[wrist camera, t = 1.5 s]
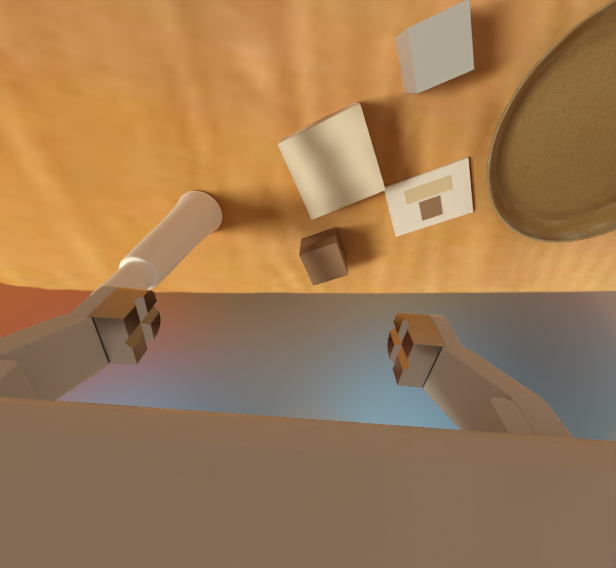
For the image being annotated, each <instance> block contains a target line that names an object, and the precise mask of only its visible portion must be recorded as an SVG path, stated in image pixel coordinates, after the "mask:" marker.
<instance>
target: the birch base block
mask: <svg viewBox="0 0 616 568" xmlns="http://www.w3.org/2000/svg"><path fill="white" fill-rule="evenodd" d="M278 146H279V149H280V151H281V153H282V155H283V157H284V160H285V162H286V164H287V166H288V168H289V171H290V173H291V175H292V177H293V179H294V182H295V184H296V186H297V188H298V191H299V193H300V195H301V197H302V199H303V202H304V204H305V206H306V208H307V210H308V213H309V215H310V217H311V219H312V220H313V219H315V218H318V217H320V216H323V215H325V214H328V213H330V212H333V211H335V210H338V209H340V208H342V207H345V206H347V205H350V204H352V203H355V202H357V201H360V200H362V199H365V198H367V197H370V196H372V195H375V194H377V193H379V192H382V191H384V190H385V186H384V183H383V180H382V176H381V173H380V169H379V166H378V163H377V159H376V156H375V152H374V149H373V146H372V142H371V139H370V135H369V132H368V129H367V125H366V122H365V118H364V115H363V112H362V108H361V105H360V103H357V102H354V103H352V104H350V105H348V106H346V107H344V108H342V109H340V110H338V111H336V112H334V113H332V114H330V115H328V116H326V117H324V118H322V119H320V120H318V121H316V122H314V123H312V124H310V125H308V126H306V127H304V128H302V129H300V130H298V131H296V132H294V133H292V134H290V135H288V136H286V137H284V138H283V139H282V140H281V141H280V142H279V143H278Z"/></svg>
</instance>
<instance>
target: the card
mask: <svg viewBox="0 0 616 568" xmlns="http://www.w3.org/2000/svg"><path fill="white" fill-rule="evenodd" d="M384 191H385V196H386V200H387V204H388V208H389V212H390V216H391V220H392V224H393V228H394V232H395V236H396V237H397V236H400V235H403V234H406V233H409V232H412V231H415V230H418V229H421V228H425V227H428V226H431V225H434V224H437V223H440V222H443V221H446V220H449V219H453V218H456V217H459V216H462V215H465V214H468V213H471V212H473V205H472V194H471V182H470V171H469V159H468V158H467V157H466V158H463V159H460V160H457V161H455V162H452V163H449V164H446V165H444V166H441V167H438V168H435V169H433V170H430V171H427V172H424V173H422V174H419V175H416V176H414V177H411V178H408V179H405V180H403V181H400V182H397V183H394V184H392V185H389V186H386V187H385V190H384Z"/></svg>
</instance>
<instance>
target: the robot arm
mask: <svg viewBox="0 0 616 568" xmlns="http://www.w3.org/2000/svg"><path fill="white" fill-rule="evenodd" d="M156 302H157V299H156V295H155V293H154V292H153V291H151V290H143V289H134V288H125V287H115V286H102V287H100V288H99V289H98V290H96V291H95V292H94V293H93V294H92V295H91V296H90V297H88V298H87V299H86V300H85V301H84V302H83V303H81V304H80V305H79V306H78V307H77V308H76V309H74V310H73V311H72V312H71V313H70V314H69V315H61V316H58V317H55V318H53V319H50V320H47V321H45V322H42V323H39V324H37V325H34V326H31V327H29V328H26V329H23V330H21V331H18V332H15V333H13V334H10V335H7V336H4V337H2V338H0V568H616V441H604V440H590V439H577V438H576V439H575V438H573V436H572V435H571V434H570V433H569V431H568V430H567V429H566V427H565V426H564V425H563V424H562V422H561V421H560V420H559V418H558V417H557V416H556V414H555V413H554V412H553V411H552V409H551V408H550V407H549V405H548V404H547V403H546V402H545V400H543V399H542V398H540V397H539V396H537V395H536V394H534V393H533V392H531V391H530V390H528V389H527V388H525V387H524V386H522V385H521V384H519V383H518V382H516V381H515V380H514V379H512V378H510V377H509V376H508V375H506V374H505V373H503V372H502V371H500V370H499V369H497V368H496V367H494V366H493V365H491V364H490V363H488V362H487V361H485V360H484V359H482V358H481V357H479V356H478V355H476V354H475V353H474V352H472V351H471V350H469V349H464V348H463V346H462V345H461V343H460V342H459V340H458V338H457V337H456V335H455V334H454V332H453V330H452V329H451V327H450V325H449V324H448V322H447V320H446V319H445V317H443V316H442V315H422V314H409V313H397V314H396V316H395V319H394V321H393V323H394V325H395V328H394V329H393V330H392V331H390V333H389V337H388V343H387V349H388V355H389V359H391V360H392V361H393V362H394V366H393V372H394V375H395V378H396V382H397V385H403V386H412V387H422V388H423V390H424V391H425V392H426V393H427V394H428V395H429V396H430V397H431V398H432V399H433V400H434V401H435V402H436V404H437V405H438V406H439V407H440V408H441V409H442V410H443V411H444V412H445V413H446V415H447V416H448V417H449V418H450V419H451V420H452V421H453V422H454V423H455V424H456V425H457V426H458V428H459V429H460V430H453V429H438V428H425V427H412V426H398V425H383V424H370V423H357V422H342V421H330V420H316V419H303V418H302V419H301V418H288V417H275V416H261V415H248V414H247V415H246V414H234V413H220V412H206V411H192V410H179V409H165V408H151V407H137V406H124V405H110V404H96V403H82V402H69V401H55V400H56V399H58V398H59V397H61V396H62V395H64V394H65V393H67V392H68V391H70V390H71V389H73V388H74V387H76V386H77V385H79V384H80V383H82V382H83V381H85V380H86V379H88V378H89V377H91V376H92V375H94V374H95V373H97V372H98V371H100V370H101V369H103V368H104V367H106V366H107V365H109V363H118V364H138V362H139V361H140V359H141V358H142V356H143V355H144V353H145V352H146V350H147V345H146V343H148V342H150V341H152V340H154V339H155V337H156V335H157V334H158V331H159V328H160V323H161V322H160V321H161V320H160V319H161V317H160V312H159V311H158V310H157V309H156V308H155V307H154V305H155V303H156Z"/></svg>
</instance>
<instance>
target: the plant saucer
mask: <svg viewBox="0 0 616 568" xmlns="http://www.w3.org/2000/svg"><path fill="white" fill-rule="evenodd" d="M487 182H488V189H489V194H490V198H491V201H492V204H493V206H494V208H495V210H496V212H497V214H498V216H499V217H500V218H501V219H502V221H503V222H504V223H505V224H506V225H507V226H508V227H510V228H511V229H512V230H514V231H515V232H517V233H519V234H520V235H522V236H525V237H527V238H530V239H533V240H538V241H543V242H556V243H557V242H572V241H578V240H584V239H588V238H592V237H596V236H599V235H602V234H605V233H608V232H611V231H613V230H616V0H613V1H611V2H609V3H608V4H606V5H604V6H603V7H601V8H600V9H598V10H597V11H595V12H594V13H592V14H591V15H589V16H588V17H587V18H585V19H584V20H583V21H581V22H580V23H579V24H578V25H576V26H575V27H574V28H573V29H571V30H570V31H569V32H568V33H567V34H566V35H565V36H563V37H562V38H561V39H560V40H559V41H558V42H557V43H556V44H555V45H554V46H553V47H552V48H551V49H550V50H549V51H548V52H547V53H546V54H545V55H544V56H543V57H542V58H541V59H540V60H539V61H538V63H537V64H536V65H535V66H534V67H533V69H532V70H531V71H530V72H529V74H528V75H527V76H526V77H525V79H524V80H523V82H522V83H521V84H520V86H519V87H518V89H517V90H516V92H515V93H514V95H513V97H512V98H511V100H510V102H509V103H508V105H507V107H506V109H505V111H504V113H503V115H502V117H501V119H500V121H499V124H498V126H497V128H496V131H495V134H494V137H493V140H492V144H491V148H490V152H489V158H488V165H487Z"/></svg>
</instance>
